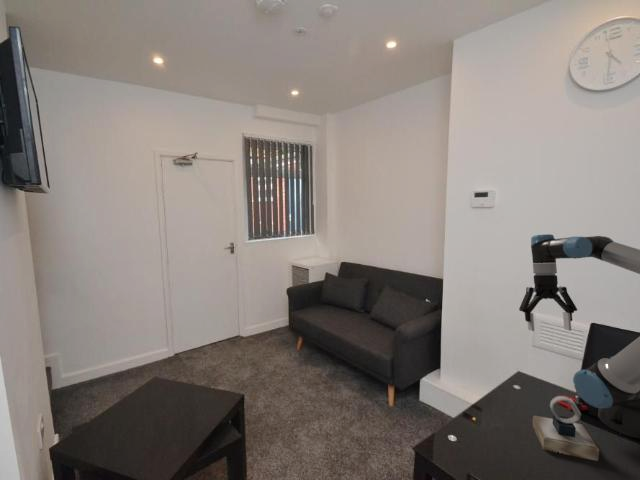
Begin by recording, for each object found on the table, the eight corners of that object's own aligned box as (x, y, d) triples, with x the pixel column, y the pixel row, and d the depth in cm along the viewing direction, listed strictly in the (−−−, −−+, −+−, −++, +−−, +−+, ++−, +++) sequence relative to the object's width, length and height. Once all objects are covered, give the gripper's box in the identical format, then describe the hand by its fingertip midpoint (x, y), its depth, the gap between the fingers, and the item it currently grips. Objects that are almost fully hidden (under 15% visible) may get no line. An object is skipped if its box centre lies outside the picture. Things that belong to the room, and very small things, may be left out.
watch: (582, 438, 100) (585, 405, 99) (552, 433, 103) (554, 400, 102) (574, 427, 105) (577, 395, 104) (546, 422, 108) (548, 391, 107)
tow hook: (549, 398, 129) (568, 411, 120) (551, 366, 128) (569, 377, 119) (570, 397, 129) (590, 411, 120) (571, 366, 129) (591, 377, 119)
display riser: (581, 434, 108) (582, 423, 107) (598, 461, 96) (599, 448, 96) (532, 425, 112) (533, 414, 112) (543, 449, 101) (544, 437, 101)
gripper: (571, 273, 128) (575, 327, 126) (507, 274, 129) (510, 328, 127) (585, 274, 121) (590, 331, 119) (517, 275, 122) (521, 332, 120)
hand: (549, 330), depth 123 cm, fingers open, 13 cm apart
